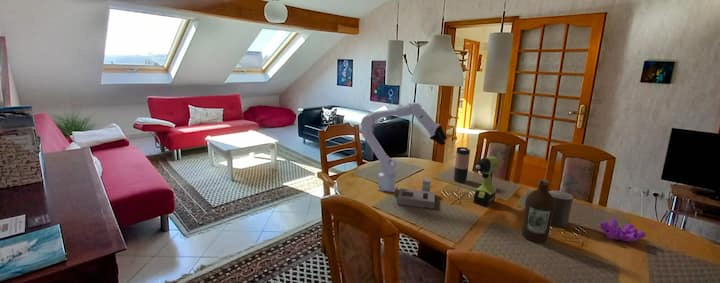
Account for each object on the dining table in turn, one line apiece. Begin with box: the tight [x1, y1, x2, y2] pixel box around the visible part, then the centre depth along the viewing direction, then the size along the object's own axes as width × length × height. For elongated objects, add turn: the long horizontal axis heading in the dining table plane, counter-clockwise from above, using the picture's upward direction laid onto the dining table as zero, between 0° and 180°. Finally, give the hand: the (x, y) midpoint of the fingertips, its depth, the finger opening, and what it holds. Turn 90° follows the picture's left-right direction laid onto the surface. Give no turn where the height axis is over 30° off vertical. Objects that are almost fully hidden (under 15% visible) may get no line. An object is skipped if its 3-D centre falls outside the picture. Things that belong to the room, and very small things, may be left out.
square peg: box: [421, 177, 432, 192], centre depth 172 cm, size 4×4×8 cm
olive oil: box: [521, 179, 555, 244], centre depth 130 cm, size 11×11×25 cm
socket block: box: [396, 188, 436, 209], centre depth 163 cm, size 18×12×4 cm, turn 77°
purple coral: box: [599, 219, 647, 242], centre depth 132 cm, size 11×15×10 cm
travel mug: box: [453, 146, 471, 184], centre depth 189 cm, size 8×8×20 cm
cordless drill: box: [472, 156, 501, 208], centre depth 158 cm, size 23×7×25 cm, turn 137°
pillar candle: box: [548, 190, 574, 228], centre depth 143 cm, size 10×10×15 cm
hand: (444, 141), depth 164 cm, fingers open, 7 cm apart
